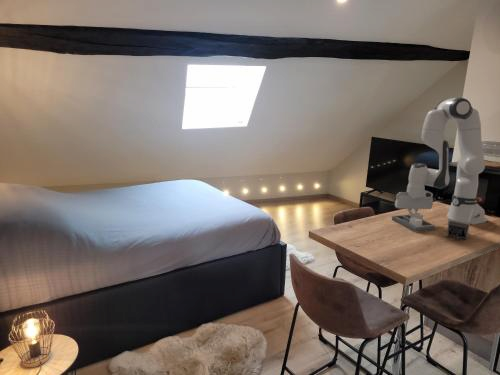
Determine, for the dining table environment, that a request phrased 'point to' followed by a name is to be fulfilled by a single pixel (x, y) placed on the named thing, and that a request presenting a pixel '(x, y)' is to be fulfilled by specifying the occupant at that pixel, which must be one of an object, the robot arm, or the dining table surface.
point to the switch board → (405, 221)
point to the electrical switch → (457, 229)
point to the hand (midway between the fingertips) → (411, 215)
